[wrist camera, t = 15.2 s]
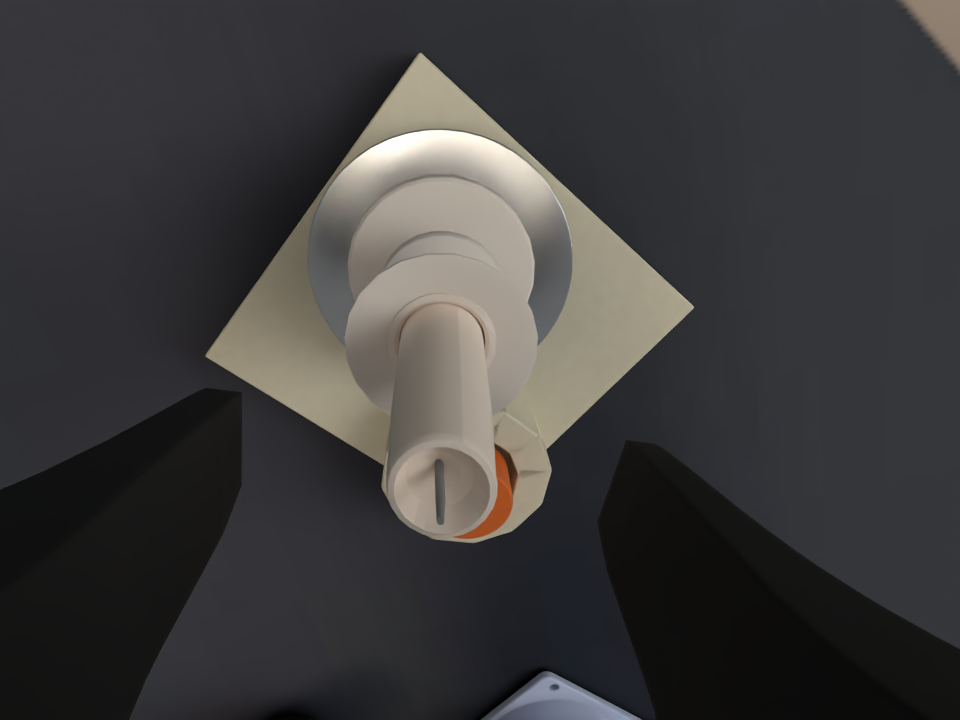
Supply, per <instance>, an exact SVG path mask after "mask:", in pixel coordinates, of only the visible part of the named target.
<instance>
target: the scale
mask: <svg viewBox="0 0 960 720" xmlns="http://www.w3.org/2000/svg"><path fill="white" fill-rule="evenodd" d="M428 128H448V129H457V130H465V131H468V132H472V133H476V134H480V135H483V136H485V137H488V138H490V139H493V140H495V141H497V142H500V143H501V144H503V145H505V146H506V147H508V148H510V149H511V150H513V151H515V152H516V153H518V154H519V155H520V156H521V157H523V158H524V159H525V160H526V161H528V162H529V163H530V164H531V165H532V166H533V167H534V168H535V169H536V170H537V171H538V172H539V173H540V174H541V175H542V177H543V178H544V179H545V180H546V182H547V183H548V185H549V186H550V187H551V189H552V190H553V192H554V193H555V195H556V197H557V199H558V201H559V203H560V205H561V206H562V208H563V211H564V214H565V217H566V220H567V222H568V225H569V230H570V235H571V240H572V250H573V269H572V278H571V283H570V288H569V292H568V295H567V298H566V301H565V304H564V307H563V309H562V311H561V313H560V315H559V317H558V319H557V321H556V323H555V324H554V326H553V327H552V329H551V330H550V332H549V333H548V335H547V336H546V337H545V338H544V339H543V341H542V342H541V343H540V344H539V345H538V346H537V356H536V361H535V363H534V366H533V369H532V372H531V374H530V377H529V380H528V381H527V382H526V384H525V385H524V387H523V388H522V390H521V391H520V392H519V394H518V395H517V397H516V398H515V399H514V400H512V401H511V402H510V403H509V404H508V405H507V406H505V407H504V408H503V409H502V410H501V411H500V412H498V413H496V414H494V415H492V416H493V431H494V447H495V449H497V450H498V451H499V452H500V453H501V454H502V456H503V457H504V459H505V461H506V463H507V467H508V473H509V479H510V485H511V490H512V496H513V506H512V510H511V513H510V515H509V517H508V519H507V520H506V522H505V523H504V524H503V525H502V526H501V527H500V528H498V529H497V530H496V531H494V532H492V533H490V534H488V535H485V536H483V537H479V538H473V539H460V538H454V537H450V538H441V537H432V536H428V535H427V536H428V537H430V538H434V539H436V540H447V541H457V542H468V543H473V542H475V543H476V542H479V541H483V540H486V539H489V538H492V537H495V536H499V535H502V534H505V533H508V532H511V531H513V530H514V529H515V528H517V527H518V526H519V525H520V524H521V523H522V522H523V521H524V520H525V519H526V518H527V517H529V516H530V515H531V514H532V513H533V512H534V511H535V510H536V509H537V508H538V507H539V506H540V505H541V504H542V502H543V499H544V495H545V492H546V488H547V485H548V481H549V478H550V475H551V465H550V461H549V458H548V454H547V451H546V449H547V448H548V447H549V446H550V445H551V444H552V443H553V442H555V441H556V440H557V439H558V438H559V437H560V436H561V435H562V434H563V433H564V432H565V431H566V430H567V429H568V428H569V427H570V426H571V425H572V424H573V423H574V422H575V421H576V420H577V419H579V418H580V417H581V416H582V415H583V414H584V413H585V412H586V411H587V410H588V409H589V408H590V407H591V406H592V405H593V404H594V403H595V402H596V401H597V400H598V399H599V398H600V397H602V396H603V395H604V394H605V393H606V392H607V391H608V390H609V389H610V388H611V387H612V386H613V385H614V384H615V383H616V382H617V381H618V380H619V379H620V378H621V377H622V376H623V375H625V374H626V373H627V372H628V371H629V370H630V369H631V368H632V367H633V366H634V365H635V364H636V363H637V362H638V361H639V360H640V359H641V358H642V357H643V356H644V355H645V354H646V353H647V352H649V351H650V350H651V349H652V348H653V347H654V346H655V345H656V344H657V343H658V342H659V341H660V340H661V339H662V338H663V337H664V336H665V335H666V334H667V333H668V332H669V331H670V330H672V329H673V328H674V327H675V326H676V325H677V324H678V323H679V322H680V321H681V320H682V319H683V318H684V317H685V316H686V315H687V314H688V313H689V312H690V311H691V310H692V309H693V308H694V307H693V305H692V304H691V303H690V302H688V301H687V300H686V299H685V298H684V297H683V296H682V295H681V294H680V293H679V292H678V291H677V290H676V289H674V288H673V287H672V286H671V285H670V284H669V283H668V282H667V281H666V280H665V279H664V278H663V277H662V276H660V275H659V274H658V273H657V272H656V271H655V270H654V269H653V268H652V267H651V266H650V265H649V264H648V263H647V262H645V261H644V260H643V259H642V258H641V257H640V256H639V255H638V254H637V253H636V252H635V251H634V250H633V249H631V248H630V247H629V246H628V245H627V244H626V243H625V242H624V241H623V240H622V239H621V238H620V237H619V236H617V235H616V234H615V233H614V232H613V231H612V230H611V229H610V228H609V227H608V226H607V225H606V224H605V223H603V222H602V221H601V220H600V219H599V218H598V217H597V216H596V215H595V214H594V213H593V212H592V211H591V210H590V209H588V208H587V207H586V206H585V205H584V204H583V203H582V202H581V201H580V200H579V199H578V198H577V197H576V196H574V195H573V194H572V193H571V192H570V191H569V190H568V189H567V188H566V187H565V186H564V185H563V184H562V183H560V182H559V181H558V180H557V179H556V178H555V177H554V176H553V175H552V174H551V173H550V172H549V171H548V170H547V169H545V168H544V167H543V166H542V165H541V164H540V163H539V162H538V161H537V160H536V159H535V158H534V157H533V156H531V155H530V154H529V153H528V152H527V151H526V150H525V149H524V148H523V147H522V146H521V145H520V144H519V143H517V142H516V141H515V140H514V139H513V138H512V137H511V136H510V135H509V134H508V133H507V132H506V131H505V130H503V129H502V128H501V127H500V126H499V125H498V124H497V123H496V122H495V121H494V120H493V119H492V118H491V117H490V116H488V115H487V114H486V113H485V112H484V111H483V110H482V109H481V108H480V107H479V106H478V105H477V104H476V103H474V102H473V101H472V100H471V99H470V98H469V97H468V96H467V95H466V94H465V93H464V92H463V91H462V90H460V89H459V88H458V87H457V86H456V85H455V84H454V83H453V82H452V81H451V80H450V79H449V78H448V77H447V76H445V75H444V74H443V73H442V72H441V71H440V70H439V69H438V68H437V67H436V66H435V65H434V64H433V63H431V62H430V61H429V60H428V59H427V58H426V57H425V56H424V55H423V54H422V53H419V54H418V55H417V56H416V58H415V59H414V60H413V62H412V63H411V65H410V66H409V67H408V69H407V70H406V72H405V73H404V75H403V76H402V77H401V79H400V80H399V82H398V83H397V84H396V86H395V87H394V89H393V90H392V91H391V93H390V94H389V96H388V97H387V99H386V100H385V101H384V103H383V104H382V106H381V107H380V108H379V110H378V111H377V113H376V114H375V116H374V117H373V118H372V120H371V121H370V123H369V124H368V125H367V127H366V128H365V130H364V131H363V132H362V134H361V135H360V137H359V138H358V140H357V141H356V142H355V144H354V145H353V147H352V148H351V149H350V151H349V152H348V154H347V155H346V157H345V158H344V159H343V161H342V162H341V164H340V165H339V166H338V168H337V169H336V171H335V172H334V173H333V175H332V176H331V178H330V179H329V181H328V182H327V183H326V185H325V186H324V188H323V189H322V190H321V192H320V193H319V195H318V196H317V198H316V199H315V200H314V202H313V203H312V205H311V206H310V207H309V209H308V210H307V212H306V213H305V214H304V216H303V217H302V219H301V220H300V222H299V223H298V224H297V226H296V227H295V229H294V230H293V231H292V233H291V234H290V236H289V237H288V239H287V240H286V241H285V243H284V244H283V246H282V247H281V248H280V250H279V251H278V253H277V254H276V256H275V257H274V258H273V260H272V261H271V263H270V264H269V265H268V267H267V268H266V270H265V271H264V272H263V274H262V275H261V277H260V278H259V280H258V281H257V282H256V284H255V285H254V287H253V288H252V289H251V291H250V292H249V294H248V295H247V297H246V298H245V299H244V301H243V302H242V304H241V305H240V306H239V308H238V309H237V311H236V312H235V313H234V315H233V316H232V318H231V319H230V321H229V322H228V323H227V325H226V326H225V328H224V329H223V330H222V332H221V333H220V335H219V336H218V338H217V339H216V340H215V342H214V343H213V345H212V346H211V347H210V349H209V350H208V352H207V353H206V355H205V356H206V357H207V358H209V359H210V360H212V361H213V362H215V363H217V364H218V365H220V366H222V367H223V368H225V369H227V370H228V371H230V372H231V373H233V374H235V375H236V376H238V377H240V378H241V379H243V380H245V381H246V382H248V383H250V384H251V385H253V386H254V387H256V388H258V389H259V390H261V391H263V392H264V393H266V394H268V395H269V396H271V397H272V398H274V399H276V400H277V401H279V402H281V403H282V404H284V405H286V406H287V407H289V408H291V409H292V410H294V411H295V412H297V413H299V414H300V415H302V416H304V417H305V418H307V419H309V420H310V421H312V422H314V423H315V424H317V425H318V426H320V427H322V428H323V429H325V430H327V431H328V432H330V433H332V434H333V435H335V436H336V437H338V438H340V439H341V440H343V441H345V442H346V443H348V444H350V445H351V446H353V447H355V448H356V449H358V450H359V451H361V452H363V453H364V454H366V455H368V456H369V457H371V458H373V459H374V460H376V461H377V462H379V463H381V464H382V465H384V469H383V476H382V484H381V487H382V490H383V492H384V493H385V495H386V497H387V487H386V473H387V459H388V445H389V432H390V418H391V416H390V415H388V414H386V413H385V412H384V411H383V410H381V409H380V408H379V407H377V406H376V405H375V404H374V403H372V402H371V401H370V400H369V399H368V398H367V396H366V395H365V394H364V392H363V391H362V390H361V389H360V387H359V386H358V385H357V383H356V382H355V380H354V377H353V375H352V372H351V370H350V367H349V365H348V362H347V357H346V348H345V345H344V344H343V343H342V342H341V341H340V340H339V339H338V337H337V336H336V335H335V334H334V332H333V331H332V330H331V329H330V327H329V325H328V324H327V322H326V320H325V319H324V317H323V315H322V313H321V311H320V309H319V307H318V304H317V302H316V300H315V297H314V293H313V290H312V287H311V283H310V277H309V270H308V243H309V234H310V229H311V226H312V222H313V218H314V215H315V212H316V210H317V208H318V205H319V203H320V201H321V198H322V197H323V195H324V194H325V192H326V190H327V189H328V187H329V185H330V184H331V182H332V181H333V180H334V179H335V178H336V176H337V175H338V174H339V173H340V171H341V170H342V169H343V168H344V167H345V166H346V165H348V164H349V163H350V162H351V161H352V160H353V159H354V158H355V157H356V156H358V155H359V154H361V153H362V152H364V151H365V150H367V149H368V148H370V147H371V146H373V145H375V144H377V143H379V142H381V141H383V140H385V139H387V138H389V137H392V136H395V135H398V134H402V133H405V132H408V131H414V130H420V129H428ZM387 499H388V497H387ZM397 517H398V516H397ZM401 521H402V520H401ZM402 522H403V521H402Z"/></svg>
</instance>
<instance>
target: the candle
mask: <svg viewBox="0 0 960 720" xmlns="http://www.w3.org/2000/svg"><path fill="white" fill-rule="evenodd" d="M534 266H535V261H534V256H533V251H532V247H531V242H530V238H529V236H528V234H527V232H526V230H525V228H524V227H523V225H522V223H521V221H520V219H519V217H518V215H517V214H516V213H515V212H514V210H513V209H512V208H511V207H510V206H509V205H508V204H507V203H506V202H505V201H504V200H503V199H502V198H501V197H500V196H499V195H498V194H496V193H494V192H493V191H491V190H489V189H488V188H486V187H484V186H483V185H481V184H480V183H477V182H474V181H470V180H467V179H463V178H460V177H456V176H425V177H421V178H417V179H414V180H410V181H406V182H403V183H401V184H400V185H398V186H396V187H395V188H393V189H391V190H390V191H388V192H386V193H385V194H383V195H382V196H381V197H380V198H379V199H378V200H377V201H376V202H375V203H374V204H373V205H372V206H371V207H370V209H369V210H368V211H367V212H366V213H365V214H364V216H363V218H362V220H361V222H360V224H359V226H358V228H357V230H356V232H355V234H354V236H353V238H352V241H351V247H350V252H349V257H348V273H349V284H350V288H351V291H352V294H353V296H354V299H355V304H354V306H353V307H352V309H351V311H350V313H349V317H348V322H347V328H346V333H345V348H346V357H347V362H348V365H349V367H350V370H351V372H352V375H353V377H354V380H355V382H356V383H357V385H358V386H359V387H360V389H361V390H362V391H363V392H364V394H365V395H366V396H367V398H368V399H369V400H370V401H371V402H372V403H374V404H375V405H376V406H377V407H379V408H380V409H381V410H383V411H384V412H385V413H386V414H388V415H390V416H391V418H390V432H389V445H388V459H387V473H386V487H387V497H388V500H389V502H390V505H391V508H392V509H393V510H394V512H395V513H396V515H397V516H398V518H399V519H400V520H402V521H403V522H404V523H405V524H406V525H407V526H409V527H410V528H412V529H413V530H415V531H417V532H419V533H421V534H424V535H428V536H432V537H441V538H450V537H455V536H459V535H463V534H465V533H468V532H470V531H472V530H474V529H475V528H477V527H478V526H479V525H480V524H481V523H482V522H484V521H485V520H486V518H487V517H488V515H489V514H490V512H491V511H492V509H493V507H494V504H495V501H496V498H497V488H498V482H497V478H496V464H495V447H494V431H493V416H492V415H494V414H496V413H498V412H500V411H501V410H502V409H503V408H504V407H505V406H507V405H508V404H509V403H510V402H511V401H512V400H514V399H515V398H516V397H517V395H518V394H519V392H520V391H521V390H522V388H523V387H524V385H525V384H526V382H527V381H528V380H529V377H530V374H531V372H532V369H533V366H534V363H535V361H536V356H537V341H538V334H537V330H536V325H535V321H534V316H533V312H532V310H531V308H530V306H529V305H528V300H529V297H530V294H531V291H532V288H533V283H534Z"/></svg>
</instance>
